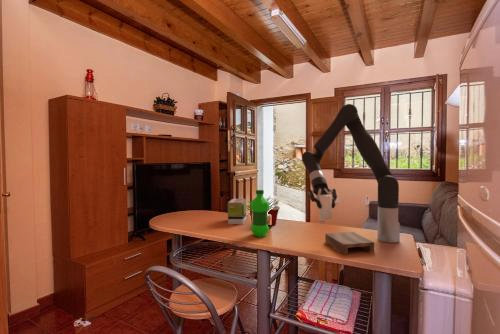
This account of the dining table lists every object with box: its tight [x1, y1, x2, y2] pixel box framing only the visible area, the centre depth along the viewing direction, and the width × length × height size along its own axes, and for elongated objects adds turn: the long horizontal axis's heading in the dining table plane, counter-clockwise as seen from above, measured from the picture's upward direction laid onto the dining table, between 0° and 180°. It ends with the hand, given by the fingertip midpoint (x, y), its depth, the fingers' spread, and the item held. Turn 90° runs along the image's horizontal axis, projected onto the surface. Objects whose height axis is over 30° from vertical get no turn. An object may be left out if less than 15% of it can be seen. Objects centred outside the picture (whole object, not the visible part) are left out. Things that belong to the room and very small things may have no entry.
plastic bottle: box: [249, 189, 270, 238], centre depth 143 cm, size 10×10×25 cm
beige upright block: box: [318, 194, 333, 220], centre depth 126 cm, size 6×6×11 cm
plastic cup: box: [268, 205, 280, 227], centre depth 165 cm, size 11×11×12 cm
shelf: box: [324, 231, 375, 256], centre depth 123 cm, size 15×17×4 cm
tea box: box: [227, 198, 247, 226], centre depth 174 cm, size 15×10×15 cm
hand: (327, 207), depth 125 cm, fingers closed on beige upright block, 6 cm apart
